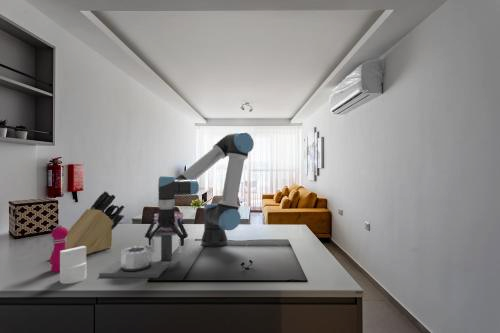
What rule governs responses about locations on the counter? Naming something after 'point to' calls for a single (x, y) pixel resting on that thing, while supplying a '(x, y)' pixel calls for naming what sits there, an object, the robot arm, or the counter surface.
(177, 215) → the bowl of food
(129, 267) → the light gray faceted ring
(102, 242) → the knife block
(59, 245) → the pepper mill
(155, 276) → the grey rectangular board
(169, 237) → the dark grey tall cylinder
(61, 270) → the cylinder with rectangular tab
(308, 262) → the counter surface
